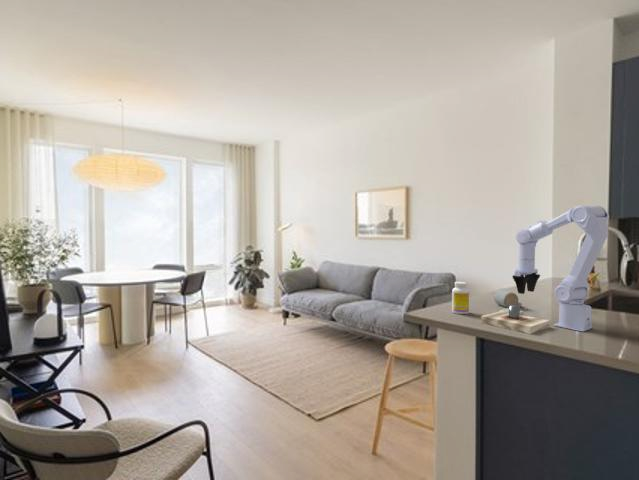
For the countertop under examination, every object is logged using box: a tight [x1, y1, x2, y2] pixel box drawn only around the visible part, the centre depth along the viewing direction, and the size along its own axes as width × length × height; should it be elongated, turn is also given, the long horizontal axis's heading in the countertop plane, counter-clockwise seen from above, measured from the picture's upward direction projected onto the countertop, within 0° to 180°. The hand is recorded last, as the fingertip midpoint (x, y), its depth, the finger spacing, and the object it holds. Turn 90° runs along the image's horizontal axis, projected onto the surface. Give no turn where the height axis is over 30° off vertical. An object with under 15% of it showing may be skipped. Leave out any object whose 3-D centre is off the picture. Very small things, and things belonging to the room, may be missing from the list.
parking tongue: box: [497, 307, 525, 316], centre depth 151 cm, size 7×7×2 cm
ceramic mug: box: [493, 288, 523, 309], centre depth 168 cm, size 11×8×8 cm
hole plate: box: [480, 311, 550, 335], centre depth 138 cm, size 18×14×3 cm
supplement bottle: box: [451, 281, 470, 315], centre depth 157 cm, size 7×7×13 cm
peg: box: [508, 305, 521, 320], centre depth 138 cm, size 4×4×7 cm
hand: (526, 292), depth 152 cm, fingers open, 7 cm apart
